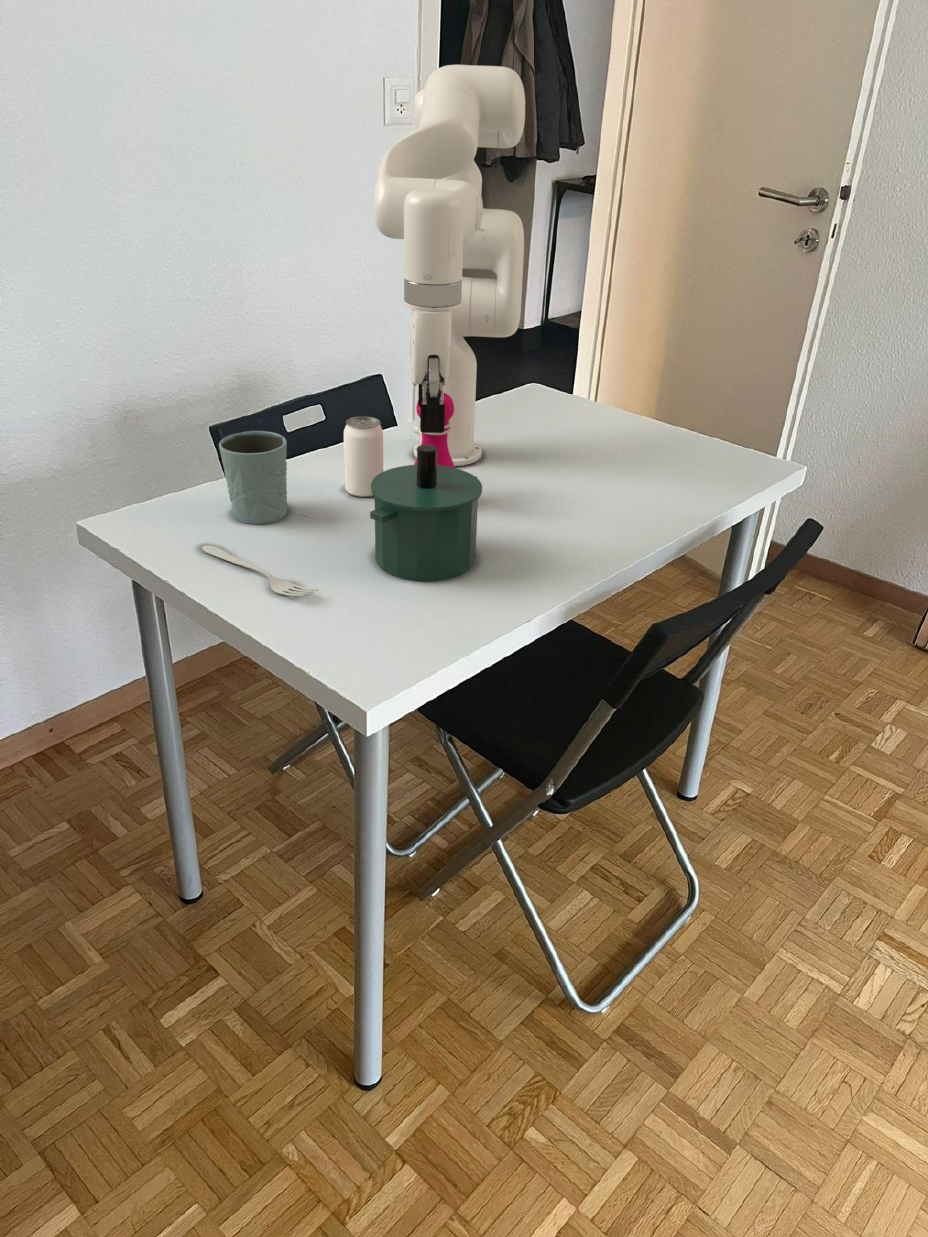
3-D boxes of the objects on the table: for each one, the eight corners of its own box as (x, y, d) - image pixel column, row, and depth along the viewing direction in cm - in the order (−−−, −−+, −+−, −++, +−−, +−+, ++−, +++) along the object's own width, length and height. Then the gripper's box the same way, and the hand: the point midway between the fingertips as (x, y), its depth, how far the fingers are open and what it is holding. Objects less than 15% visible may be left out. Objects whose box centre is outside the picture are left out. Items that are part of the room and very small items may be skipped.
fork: (213, 543, 146) (211, 532, 145) (321, 599, 132) (320, 588, 131) (194, 550, 144) (193, 539, 143) (303, 608, 130) (302, 596, 129)
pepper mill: (402, 499, 162) (403, 381, 152) (433, 488, 167) (435, 372, 157) (433, 513, 158) (436, 392, 148) (464, 500, 163) (468, 382, 153)
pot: (341, 564, 141) (339, 494, 136) (433, 523, 155) (435, 457, 149) (415, 598, 133) (415, 525, 128) (505, 551, 147) (510, 483, 141)
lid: (347, 492, 138) (346, 447, 134) (423, 463, 148) (423, 421, 145) (430, 526, 129) (431, 478, 126) (504, 492, 140) (507, 448, 136)
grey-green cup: (300, 519, 154) (296, 446, 148) (238, 531, 150) (232, 457, 144) (276, 496, 162) (271, 426, 156) (217, 507, 157) (209, 436, 151)
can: (353, 500, 161) (352, 430, 155) (339, 486, 166) (337, 418, 160) (389, 494, 164) (389, 425, 158) (374, 480, 169) (373, 413, 163)
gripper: (402, 277, 134) (402, 398, 143) (404, 309, 119) (404, 442, 128) (457, 277, 134) (454, 398, 143) (466, 310, 120) (461, 442, 129)
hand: (430, 419), depth 136 cm, fingers open, 9 cm apart
